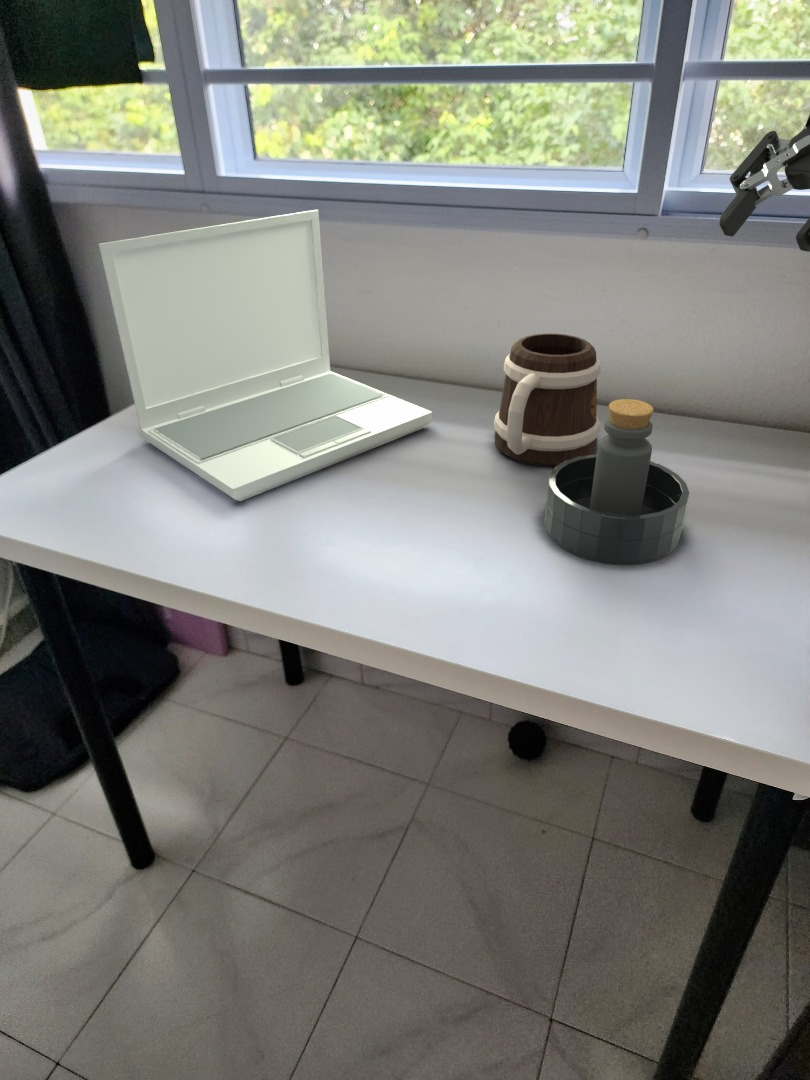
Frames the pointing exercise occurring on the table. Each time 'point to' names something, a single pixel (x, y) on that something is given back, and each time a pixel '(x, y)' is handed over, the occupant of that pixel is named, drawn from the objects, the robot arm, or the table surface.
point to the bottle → (623, 459)
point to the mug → (549, 400)
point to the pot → (614, 516)
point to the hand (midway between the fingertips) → (761, 237)
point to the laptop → (242, 354)
